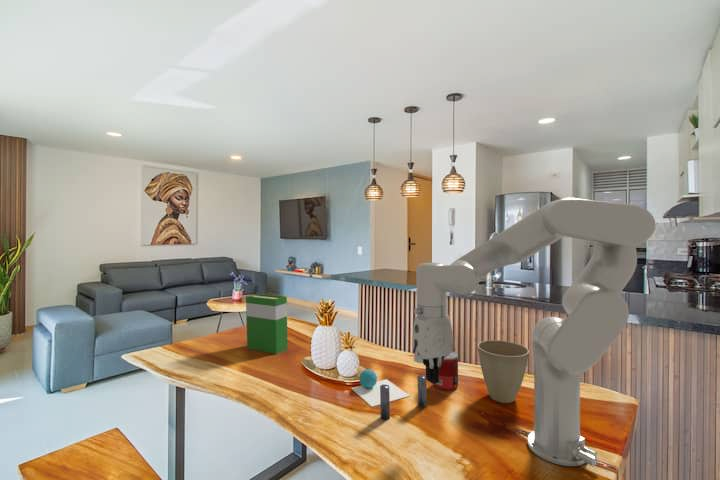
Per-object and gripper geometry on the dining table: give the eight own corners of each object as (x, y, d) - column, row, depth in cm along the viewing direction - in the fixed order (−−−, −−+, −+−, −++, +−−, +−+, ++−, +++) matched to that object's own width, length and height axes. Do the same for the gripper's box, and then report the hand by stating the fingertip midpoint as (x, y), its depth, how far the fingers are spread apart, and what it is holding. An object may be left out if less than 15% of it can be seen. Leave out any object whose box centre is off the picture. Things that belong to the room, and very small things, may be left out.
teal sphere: (373, 387, 120) (381, 385, 115) (358, 390, 117) (366, 389, 112) (369, 368, 122) (378, 366, 118) (354, 371, 119) (362, 369, 115)
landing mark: (409, 396, 111) (409, 395, 111) (371, 407, 104) (371, 406, 104) (386, 379, 123) (386, 379, 123) (351, 388, 117) (351, 388, 117)
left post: (391, 418, 98) (391, 387, 98) (383, 421, 97) (383, 389, 96) (386, 414, 100) (386, 383, 100) (378, 416, 99) (378, 385, 99)
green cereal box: (247, 348, 159) (245, 296, 158) (258, 343, 166) (257, 293, 165) (276, 354, 151) (275, 299, 150) (287, 348, 157) (286, 296, 157)
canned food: (459, 392, 113) (458, 358, 113) (434, 390, 115) (433, 357, 114) (457, 381, 121) (457, 350, 120) (433, 380, 122) (433, 349, 122)
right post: (428, 407, 104) (428, 377, 104) (421, 409, 103) (421, 379, 102) (422, 403, 106) (422, 374, 106) (416, 405, 105) (415, 376, 105)
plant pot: (503, 414, 99) (503, 359, 99) (467, 392, 113) (467, 343, 112) (540, 403, 105) (540, 351, 105) (502, 383, 119) (502, 337, 118)
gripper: (416, 318, 82) (417, 394, 83) (464, 310, 89) (464, 380, 89) (399, 311, 89) (400, 382, 89) (444, 304, 96) (444, 370, 96)
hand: (432, 381), depth 89 cm, fingers closed
